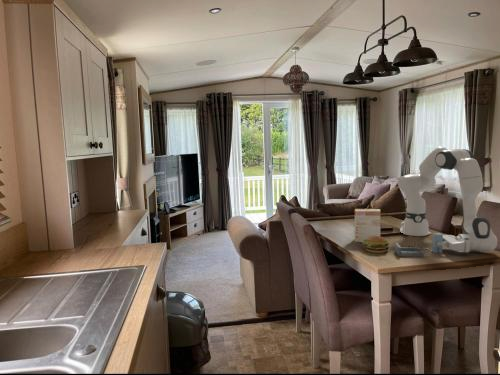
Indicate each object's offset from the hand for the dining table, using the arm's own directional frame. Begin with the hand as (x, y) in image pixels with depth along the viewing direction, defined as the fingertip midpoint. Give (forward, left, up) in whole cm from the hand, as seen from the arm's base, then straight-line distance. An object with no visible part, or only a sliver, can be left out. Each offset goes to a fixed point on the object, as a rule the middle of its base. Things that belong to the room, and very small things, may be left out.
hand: (435, 241), depth 211 cm
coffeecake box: (-21, -33, -6) cm, 40 cm away
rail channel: (+6, -14, -6) cm, 16 cm away
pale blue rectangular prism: (0, +1, -6) cm, 6 cm away
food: (0, -31, -6) cm, 32 cm away
